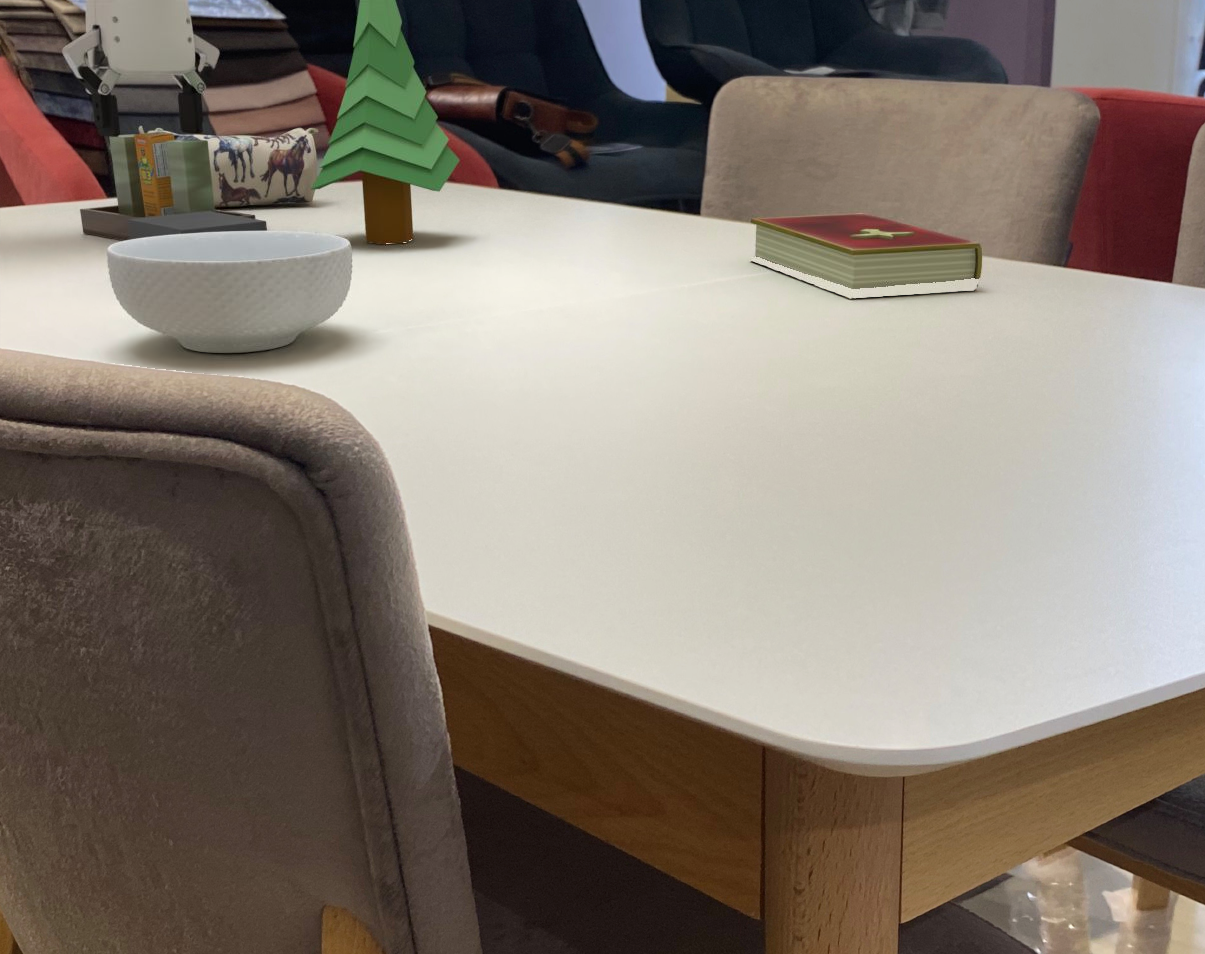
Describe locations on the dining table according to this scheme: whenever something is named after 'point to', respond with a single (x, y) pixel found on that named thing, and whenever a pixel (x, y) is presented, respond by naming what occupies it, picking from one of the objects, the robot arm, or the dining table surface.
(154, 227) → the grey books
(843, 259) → the hardcover book
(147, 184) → the supplement box
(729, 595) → the dining table surface
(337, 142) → the decorative tree
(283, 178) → the pencil case
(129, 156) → the book rack
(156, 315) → the cereal bowl
